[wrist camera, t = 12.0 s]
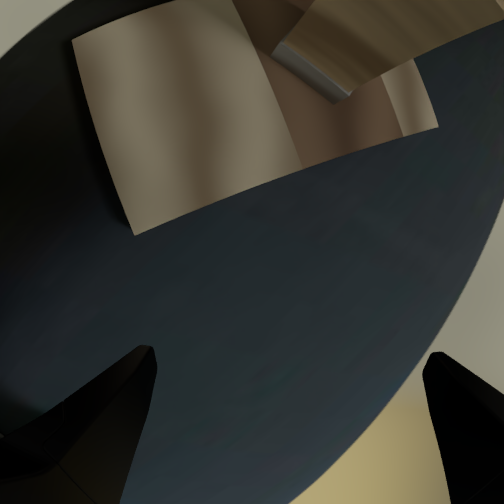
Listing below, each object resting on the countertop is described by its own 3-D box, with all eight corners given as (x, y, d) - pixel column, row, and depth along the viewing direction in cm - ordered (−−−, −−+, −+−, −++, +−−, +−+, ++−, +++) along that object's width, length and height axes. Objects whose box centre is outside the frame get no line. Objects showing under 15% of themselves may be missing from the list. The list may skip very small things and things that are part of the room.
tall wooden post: (333, 104, 17) (511, 23, 5) (269, 57, 16) (391, -94, 3) (365, 58, 17) (514, -23, 4) (308, 14, 16) (424, -109, 3)
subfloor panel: (138, 232, 18) (134, 235, 16) (78, 49, 14) (71, 40, 13) (426, 129, 20) (438, 126, 19) (362, -11, 17) (371, -19, 16)
